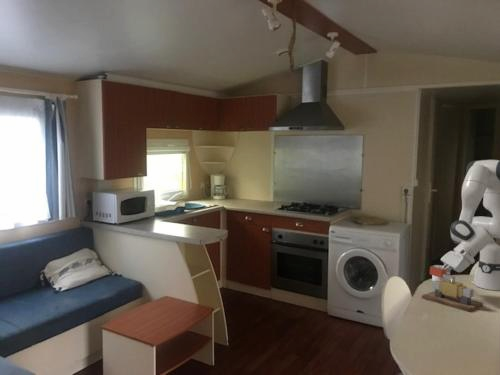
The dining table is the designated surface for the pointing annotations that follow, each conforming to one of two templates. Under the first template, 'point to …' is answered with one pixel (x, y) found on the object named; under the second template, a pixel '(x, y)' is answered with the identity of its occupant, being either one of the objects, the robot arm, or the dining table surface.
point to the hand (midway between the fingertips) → (442, 272)
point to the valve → (453, 290)
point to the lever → (440, 273)
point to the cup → (439, 277)
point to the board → (452, 302)
